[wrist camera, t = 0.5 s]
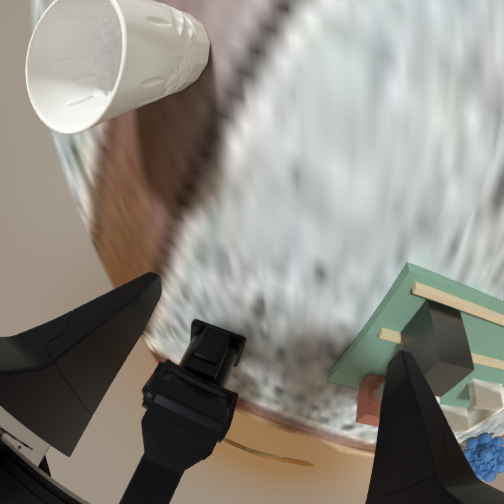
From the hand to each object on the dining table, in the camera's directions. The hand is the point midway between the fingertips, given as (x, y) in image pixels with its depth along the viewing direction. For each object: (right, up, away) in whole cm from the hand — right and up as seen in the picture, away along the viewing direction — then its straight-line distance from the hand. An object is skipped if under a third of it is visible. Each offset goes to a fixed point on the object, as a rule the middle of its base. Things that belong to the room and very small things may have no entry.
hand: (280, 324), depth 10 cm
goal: (+29, -16, +19) cm, 38 cm away
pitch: (+22, -9, +16) cm, 29 cm away
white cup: (-7, +17, +8) cm, 20 cm away
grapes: (+46, -34, +26) cm, 62 cm away
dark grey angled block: (+14, -8, +16) cm, 23 cm away
